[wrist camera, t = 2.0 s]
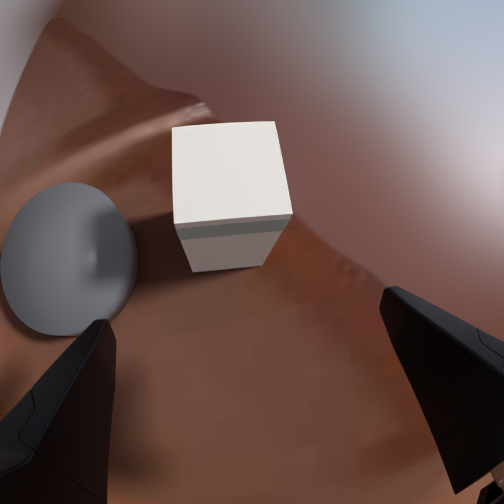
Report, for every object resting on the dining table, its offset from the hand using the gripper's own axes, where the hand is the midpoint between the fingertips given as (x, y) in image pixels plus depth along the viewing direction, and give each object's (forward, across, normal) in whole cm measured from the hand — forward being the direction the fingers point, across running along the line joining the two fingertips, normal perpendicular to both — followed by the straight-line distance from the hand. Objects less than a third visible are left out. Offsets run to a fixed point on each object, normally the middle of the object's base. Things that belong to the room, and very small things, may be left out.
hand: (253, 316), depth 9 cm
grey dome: (+13, +12, +5) cm, 18 cm away
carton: (+14, 0, +4) cm, 14 cm away
